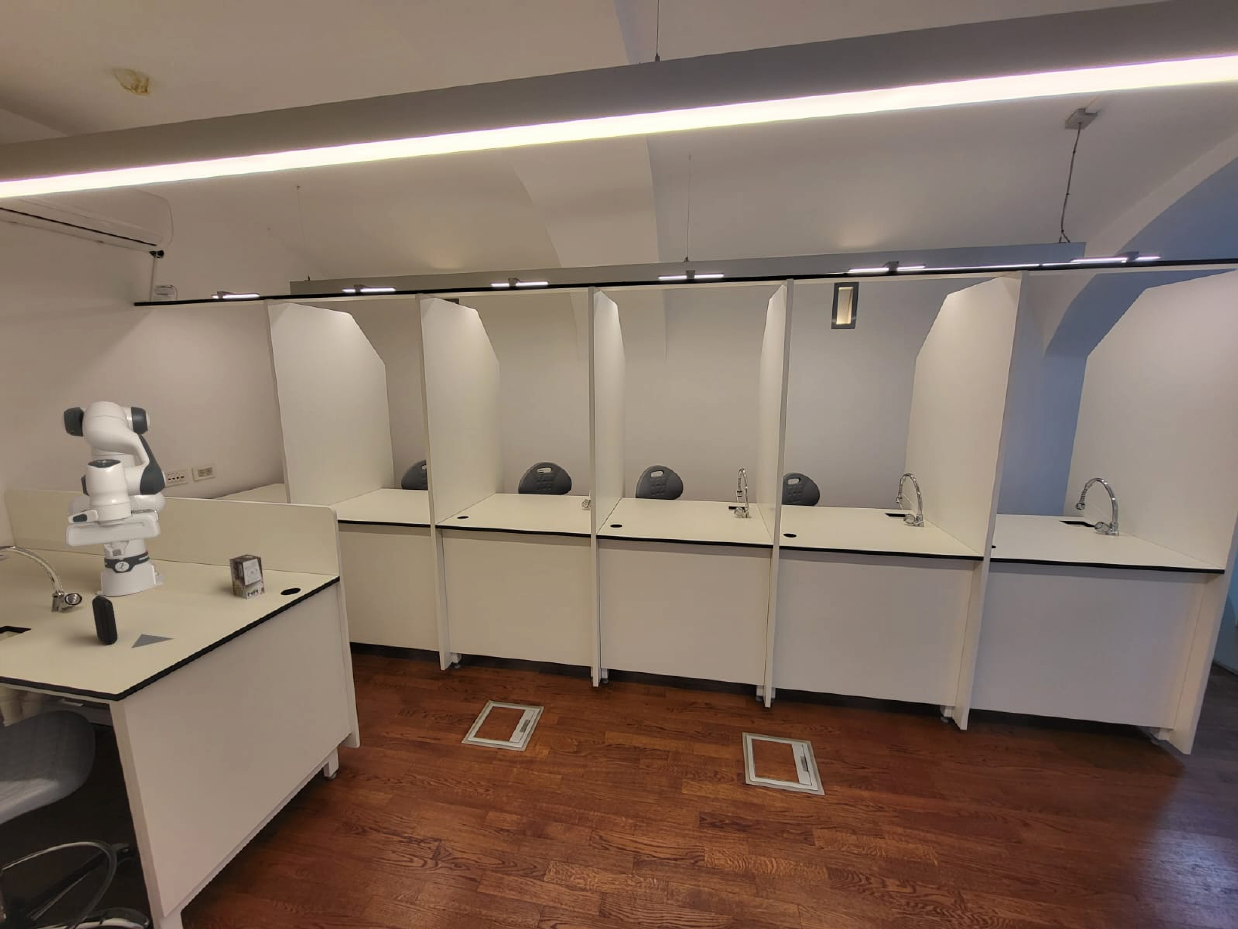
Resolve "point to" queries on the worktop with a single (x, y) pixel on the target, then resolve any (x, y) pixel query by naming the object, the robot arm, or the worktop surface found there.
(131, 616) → the worktop surface
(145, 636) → the mat
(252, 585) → the coffee box
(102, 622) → the carrying case or bag
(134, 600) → the worktop surface
